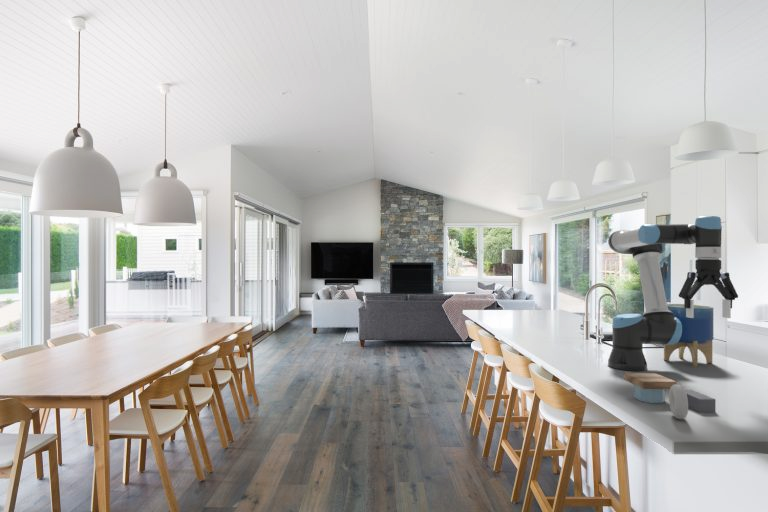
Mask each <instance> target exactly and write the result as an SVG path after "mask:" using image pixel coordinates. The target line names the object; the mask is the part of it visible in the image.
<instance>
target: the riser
mask: <svg viewBox="0 0 768 512" xmlns="http://www.w3.org/2000/svg"><path fill="white" fill-rule="evenodd" d="M685 391H686V394H687V398H688V408H690V409H691V410H694V411H696V412H698V413H716V409H717V408H716V398H713V397H711V396H708V395H706V394H704V393H700V392H698V391H696V390H693V389H685Z"/></svg>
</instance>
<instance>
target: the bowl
mask: <svg viewBox="0 0 768 512" xmlns="http://www.w3.org/2000/svg"><path fill="white" fill-rule="evenodd" d="M633 397H634V399H636V400H639V401H641V402H645V403H650V404H663V403H664V402H665V401H666V389H643V388H641V387H638V386H636V385H634V384H633Z"/></svg>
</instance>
